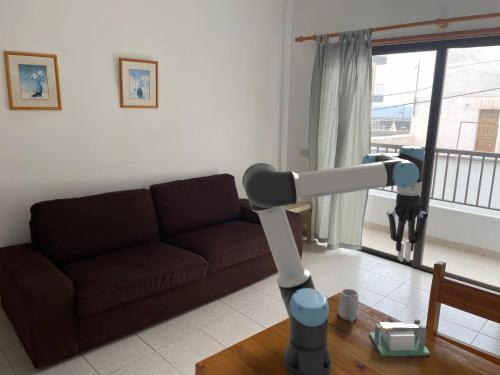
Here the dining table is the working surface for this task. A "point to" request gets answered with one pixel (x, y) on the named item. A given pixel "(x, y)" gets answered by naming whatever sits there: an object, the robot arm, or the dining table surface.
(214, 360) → the dining table surface
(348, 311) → the white cup
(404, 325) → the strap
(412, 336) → the heatsink board
